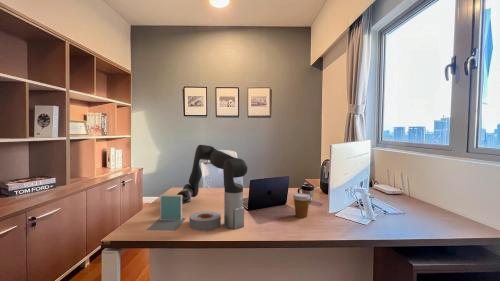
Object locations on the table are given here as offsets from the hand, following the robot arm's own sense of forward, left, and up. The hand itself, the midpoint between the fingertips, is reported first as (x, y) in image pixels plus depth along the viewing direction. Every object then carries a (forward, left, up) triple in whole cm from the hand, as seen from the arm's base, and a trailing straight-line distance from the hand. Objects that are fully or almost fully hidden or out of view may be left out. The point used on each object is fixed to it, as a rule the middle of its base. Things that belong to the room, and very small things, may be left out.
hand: (175, 203), depth 142 cm
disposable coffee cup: (-47, -52, -7) cm, 70 cm away
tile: (-5, +5, -7) cm, 10 cm away
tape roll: (-23, -4, -7) cm, 24 cm away
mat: (-9, +9, -7) cm, 14 cm away
